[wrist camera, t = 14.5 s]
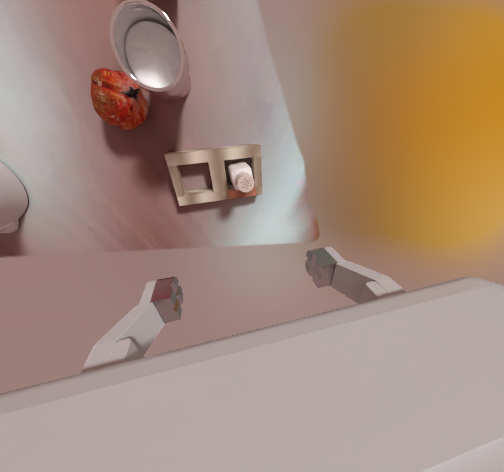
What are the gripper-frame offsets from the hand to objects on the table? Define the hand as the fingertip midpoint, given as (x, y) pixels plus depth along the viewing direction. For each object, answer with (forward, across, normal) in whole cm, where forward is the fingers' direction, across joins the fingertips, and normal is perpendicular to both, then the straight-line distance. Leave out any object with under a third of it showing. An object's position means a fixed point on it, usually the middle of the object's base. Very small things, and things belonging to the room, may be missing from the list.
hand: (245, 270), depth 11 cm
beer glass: (+33, +5, -14) cm, 37 cm away
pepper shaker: (+33, -4, +2) cm, 34 cm away
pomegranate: (+33, +13, -11) cm, 37 cm away
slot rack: (+33, 0, +2) cm, 33 cm away
